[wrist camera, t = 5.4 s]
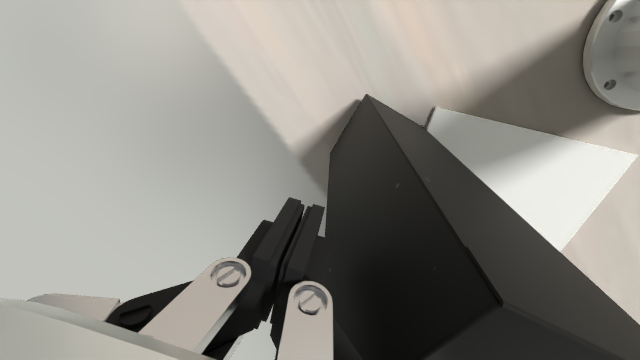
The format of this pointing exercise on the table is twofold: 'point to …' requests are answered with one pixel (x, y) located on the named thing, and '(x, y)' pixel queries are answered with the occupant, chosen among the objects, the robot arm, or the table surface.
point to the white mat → (533, 169)
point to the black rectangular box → (449, 260)
